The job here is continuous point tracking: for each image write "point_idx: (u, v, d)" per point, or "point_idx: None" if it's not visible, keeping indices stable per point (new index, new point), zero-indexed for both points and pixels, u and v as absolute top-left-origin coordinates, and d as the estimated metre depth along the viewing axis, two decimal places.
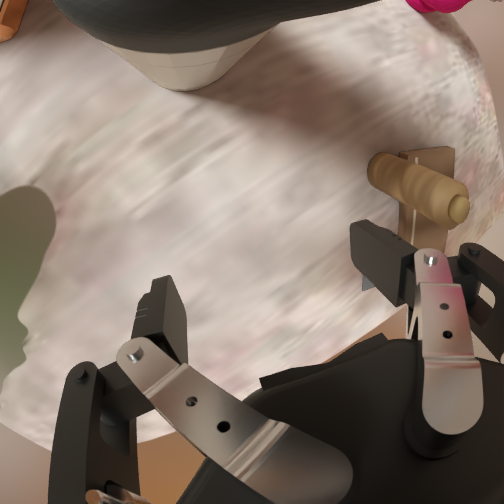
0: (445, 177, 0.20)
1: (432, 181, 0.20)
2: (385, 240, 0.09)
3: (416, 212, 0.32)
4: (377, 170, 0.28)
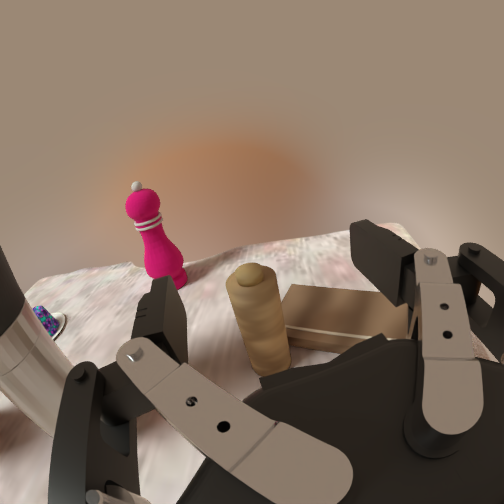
0: None
1: None
2: (385, 240, 0.09)
3: (333, 331, 0.31)
4: (254, 364, 0.29)
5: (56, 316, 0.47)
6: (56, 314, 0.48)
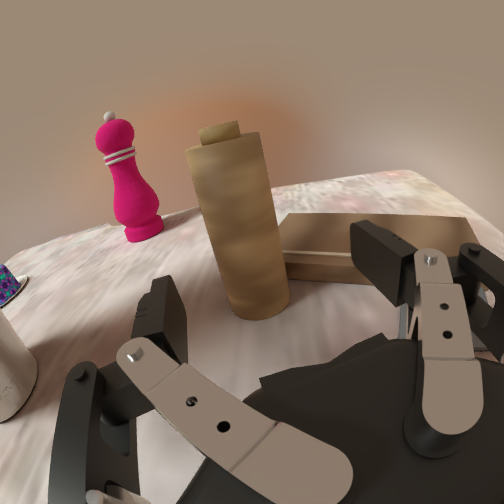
0: None
1: None
2: (385, 240, 0.09)
3: (350, 252, 0.21)
4: (231, 296, 0.19)
5: (19, 279, 0.38)
6: (19, 277, 0.38)
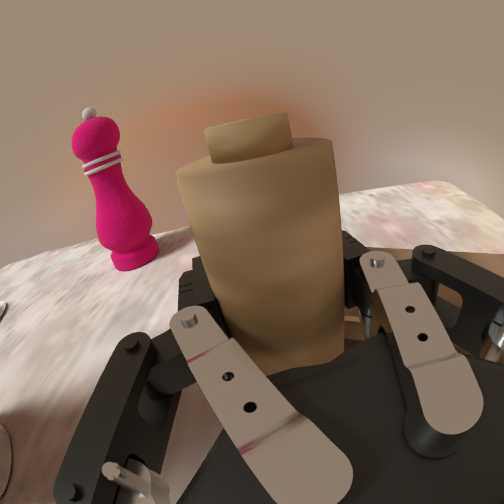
0: None
1: None
2: None
3: None
4: None
5: None
6: None
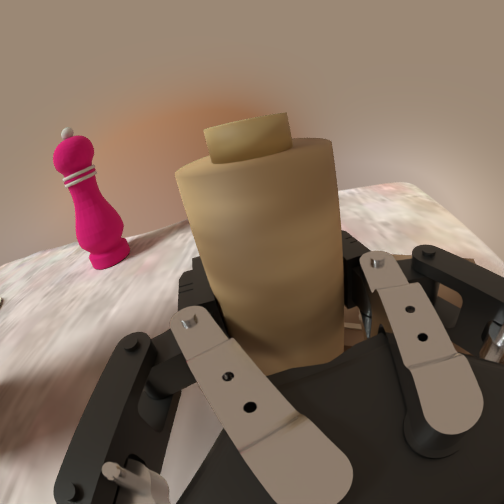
0: None
1: None
2: None
3: None
4: None
5: None
6: None
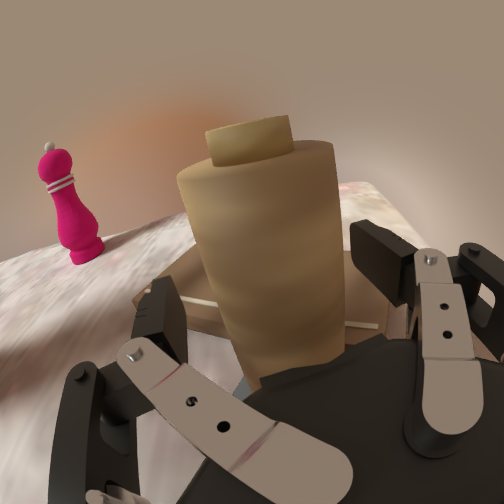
0: None
1: None
2: (385, 240, 0.09)
3: None
4: None
5: None
6: None
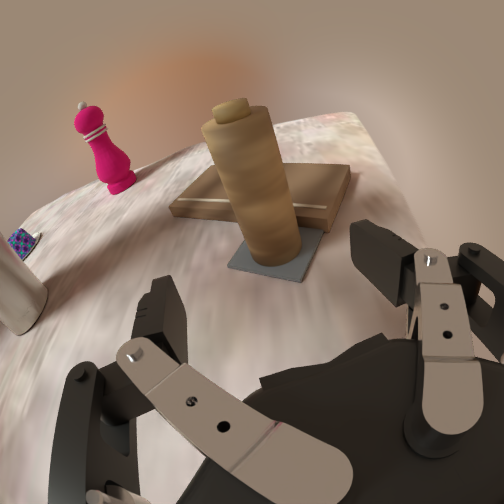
0: None
1: None
2: (385, 240, 0.09)
3: (227, 199, 0.31)
4: (251, 247, 0.23)
5: None
6: None
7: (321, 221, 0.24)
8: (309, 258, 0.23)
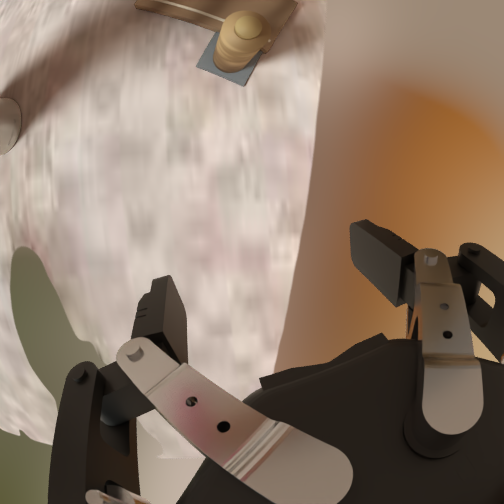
0: None
1: (219, 38, 0.21)
2: (385, 240, 0.09)
3: (193, 7, 0.24)
4: (218, 65, 0.29)
5: None
6: None
7: (264, 49, 0.29)
8: (250, 71, 0.31)
